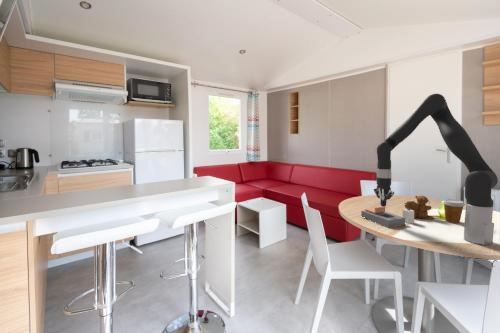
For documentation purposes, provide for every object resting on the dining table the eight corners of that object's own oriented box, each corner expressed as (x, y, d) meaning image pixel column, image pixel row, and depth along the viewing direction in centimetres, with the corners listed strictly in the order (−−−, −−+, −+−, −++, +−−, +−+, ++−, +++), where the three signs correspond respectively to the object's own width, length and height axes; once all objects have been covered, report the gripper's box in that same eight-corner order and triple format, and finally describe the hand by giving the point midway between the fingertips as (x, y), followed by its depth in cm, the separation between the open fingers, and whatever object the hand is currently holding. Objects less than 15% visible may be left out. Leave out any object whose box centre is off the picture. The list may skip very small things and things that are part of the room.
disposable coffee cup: (451, 218, 149) (452, 198, 148) (467, 223, 139) (469, 202, 138) (437, 219, 147) (438, 199, 146) (453, 225, 138) (454, 203, 137)
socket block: (404, 224, 140) (405, 217, 139) (388, 227, 136) (388, 220, 136) (376, 214, 159) (376, 208, 158) (361, 217, 155) (361, 210, 155)
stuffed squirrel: (435, 219, 148) (436, 197, 146) (411, 219, 148) (412, 198, 147) (423, 214, 158) (425, 193, 156) (401, 214, 158) (402, 194, 157)
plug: (413, 222, 143) (414, 208, 142) (408, 223, 142) (409, 209, 141) (407, 220, 147) (408, 206, 146) (402, 221, 146) (402, 207, 145)
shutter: (385, 212, 149) (385, 206, 149) (375, 213, 147) (376, 207, 147) (373, 208, 157) (374, 203, 157) (365, 210, 155) (365, 204, 155)
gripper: (399, 177, 139) (398, 208, 141) (379, 174, 151) (379, 202, 153) (388, 178, 137) (387, 209, 138) (369, 175, 149) (369, 204, 151)
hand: (383, 206), depth 146 cm, fingers closed
